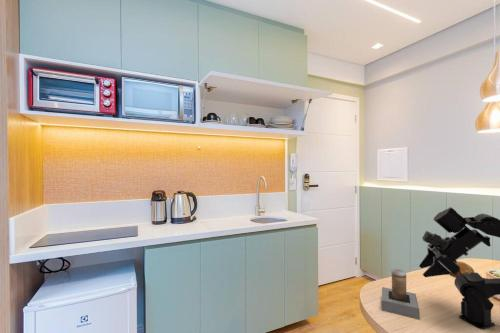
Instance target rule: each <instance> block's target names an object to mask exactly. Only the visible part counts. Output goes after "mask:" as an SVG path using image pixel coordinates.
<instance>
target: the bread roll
mask: <svg viewBox="0 0 500 333" xmlns="http://www.w3.org/2000/svg"><path fill="white" fill-rule="evenodd" d="M456 264H457V265H458V266H459V267H460V272H459V273H457V274H456V275H454V274H453V273H452V272H451V273H452V275H450V276H452V277H454V278H456V277H457V276H459V275H463V274H462V273H465V274H470V273H476V272H475V269H473V267H472V266H471V265H469V264H468V263H466V262H463V261H457V263H456Z"/></svg>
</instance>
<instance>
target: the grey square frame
mask: <svg viewBox="0 0 500 333" xmlns="http://www.w3.org/2000/svg"><path fill="white" fill-rule="evenodd" d="M417 297H418V296H417V294H416V293H413V292H409V291H406V298H407V303H406V302H401V301H397V300H392V288H389V287H384V286H382V287H381V311H384V312H389V313H393V314H396V315H400V316H405V317H409V318H414V319H416V320H417V319H418V320H420V306H419V301H418V298H417Z"/></svg>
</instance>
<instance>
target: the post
mask: <svg viewBox="0 0 500 333" xmlns="http://www.w3.org/2000/svg"><path fill="white" fill-rule="evenodd" d="M391 289H392V300H397V301H401V302H406V303H407V298H406V292H407V272H406V271H404V270H402V269H395V268H394V269H391Z"/></svg>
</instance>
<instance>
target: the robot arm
mask: <svg viewBox="0 0 500 333" xmlns="http://www.w3.org/2000/svg"><path fill="white" fill-rule="evenodd" d="M433 221H434V222H436V223H437V224H438V225H439V226H440V227H441V228H442V229H444V230H445V231H446V232H447V233H449V234H450V233H453V234H454V235H451V237H450V236H446V237H444V238H443V237H441V235H439V234H437V233H432V232H430V231H427V230H426V231H425V232H424V234H423V236H422V238H421V239H422V241H423V242H425V243H427V246H426V251H427V254H426V255H425V257H424V258H423V259H422V261H421V262H420V264H419V266H418V267H419V268H420V269H424V268H427V267H428V268H427V269H426V270H425V271H424V272H423V274H422V276H423V277H424V278H430V277H438V276H447V275H450V276H451V275H452V273H453V274H454V275H456V274H457V273H459V272H460V267H459V266H458V265H457V264H456V263H457V262H458V259H460V258H461V257H463V256H464V257H465V256H466V257H467V256H468V255H469V253H468V252H470V251H471V250H472V249H474V248H476V246H478V245H480V244H481V243H482V244H484V245H486V246H487V247H491V238H490V237H489V236H493V237H497V238H500V219H499V218H498V217H497V218H496V217H495V216H492V215H489V214H487V213H480V214H477V215H475V216H470V217H463V216H462V215H461V214H459V213H458V212H457V210H456V209H454V208H453V207H450V206H449V207H448V208H447V209H445V210H443V211H440V212H438V213H437V214H436V215H435V216H434V217H433ZM466 225H467V226H466ZM468 226H469V227H471V228H472V229H470V228H469V227H468ZM478 230H479V231H480V232H482V233H483V234H485V235H483V234H481V233H480V232H479V231H478ZM488 235H489V236H488ZM451 272H452V273H451ZM462 274H463V275H459V276H457V277H455V278H454V286H455V288H456V289H457V290H458V292H459V293H460V295H461V296H462V298H461V300H462V301H460V313H461V314H460V315H458V317H459V318H460V319H461V320H464V321H466V322H467V323H469V324H471V325H473V326H474V327H476V328H478V329H481V330H482V329H483V330H484V329H486V328H487V329H488V328H490V327H493V326H495V325H496V323H494V322H493V321H492V310H493V308H494V303H493V302H492V301H491V300H490V299H491V298H492V297H493V298H494V297H495V296H500V277H497V278H494V277H493V278H486V277H482V275H480V273H479V272H475V273H470V274H465V273H462Z"/></svg>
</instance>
